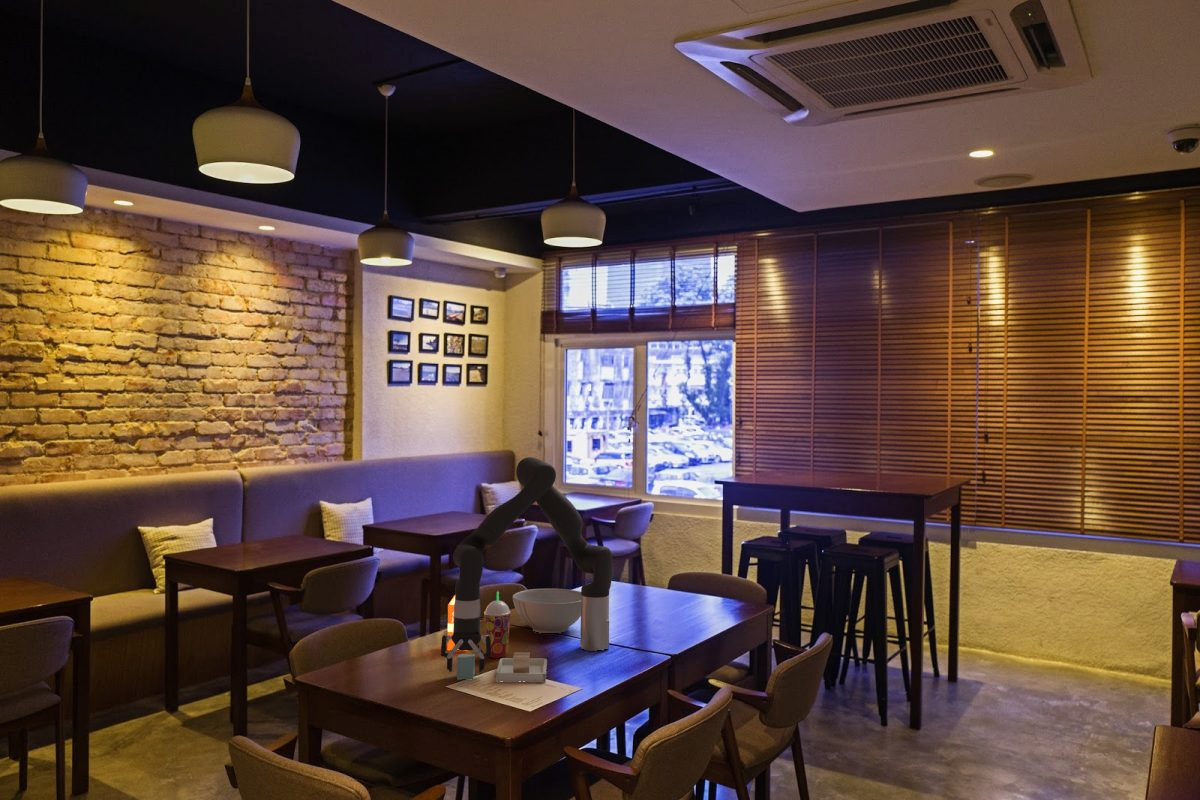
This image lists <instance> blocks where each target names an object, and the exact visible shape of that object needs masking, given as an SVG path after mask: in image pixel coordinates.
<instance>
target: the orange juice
mask: <svg viewBox="0 0 1200 800" xmlns="http://www.w3.org/2000/svg"><path fill="white" fill-rule="evenodd" d="M454 603H455V595H453V597H452V599H451V600H450V601H449V603H448V604H447V635H453V628H454ZM454 646H455V644H454V642H453V641H452V639H450V640H449V642H448V643H447V647H446V651H450V650H452V648H453V647H454ZM458 650H459V649H458ZM463 652H468V651H467V650H464V651H463Z"/></svg>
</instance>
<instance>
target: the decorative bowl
mask: <svg viewBox="0 0 1200 800" xmlns="http://www.w3.org/2000/svg"><path fill="white" fill-rule="evenodd" d="M512 602H513V605H514V608H515V610H516V612H517V614H518V616H519V617H520V619H521V620H522V621H523V622H524V623H525V624H526V625H528V626H529V627H531V628H532V629H533V630H532V632H534V631H535V632H534V633H536V632H539V633H538V634H541V633H559V634H562V633H561V632H564V631H566V630H567V631H568V629H569V628H570V627H571V626H572V625H574V624H575V623H576V622H577V621H578V620H579V619H581V590H575V589H574V590H573V589H568V588H567V589H566V588H533V589H526V590H521V591H519V592H518V591H517V592H515V593H514V594H512ZM567 631H566V632H567ZM564 633H565V632H564Z"/></svg>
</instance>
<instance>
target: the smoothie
mask: <svg viewBox="0 0 1200 800" xmlns="http://www.w3.org/2000/svg"><path fill="white" fill-rule="evenodd" d="M499 595H500V592H499V591H496V599H495V600H493V601H491V602H489V604H488V605H487V606H486V608H485V610H484V611H483V614H484V635H488V634H490V635H491V656H490V657H489V658H491V657H492V659H500V657H502V658H505V657H506V655H507V653H508V650H509V638H510V626H511V625H510V624H511V623H510V622H511V613H512V612H511V610H510V608H509V605H508V604H507V603H505V601H503V600H500V596H499Z"/></svg>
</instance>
